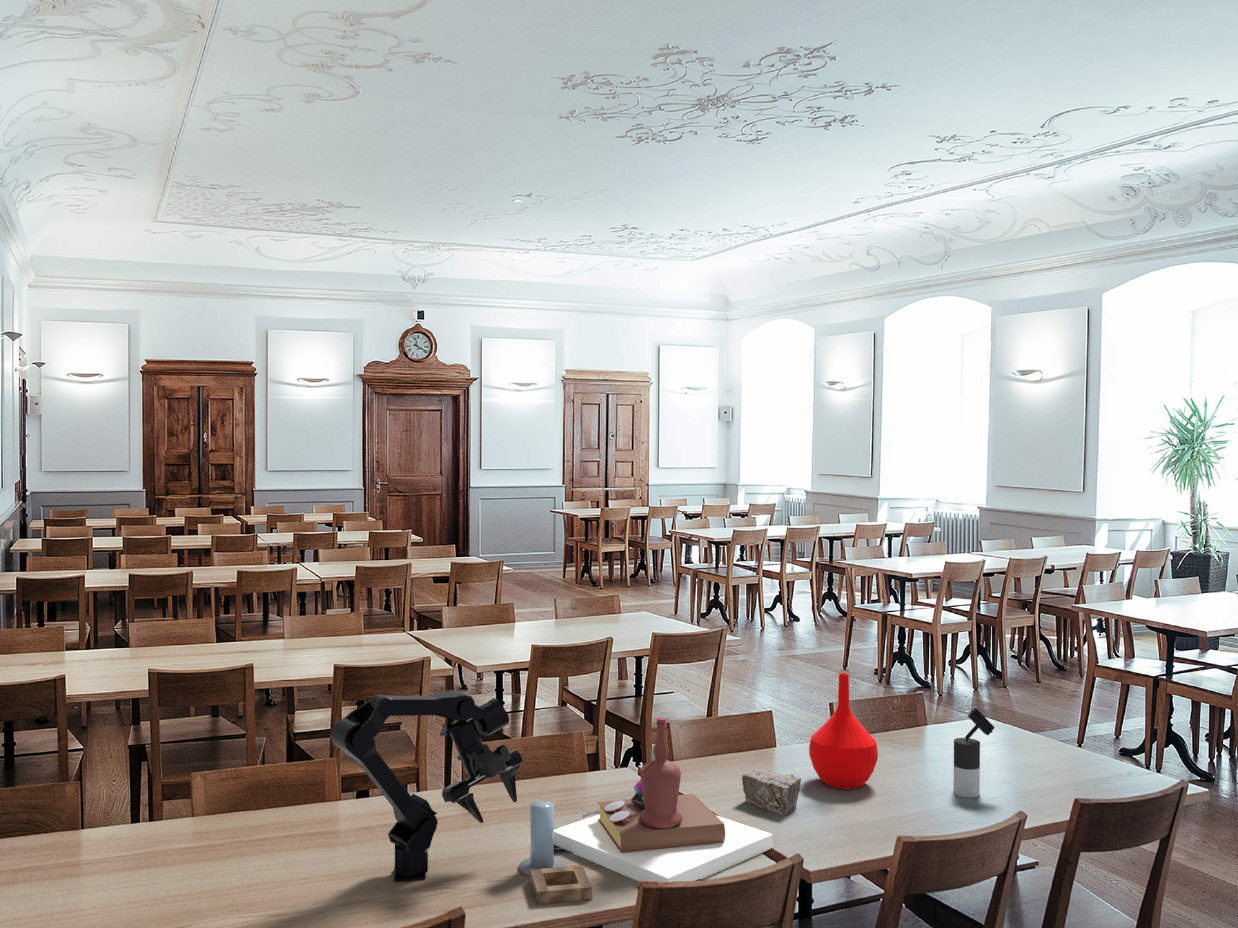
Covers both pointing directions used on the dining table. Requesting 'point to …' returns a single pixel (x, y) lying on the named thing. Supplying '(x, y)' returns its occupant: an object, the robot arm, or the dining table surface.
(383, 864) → the dining table surface
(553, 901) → the pocket block
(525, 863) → the coaster
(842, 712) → the vase
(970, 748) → the track light
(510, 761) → the robot arm
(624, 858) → the decorative still life
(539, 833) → the pale blue cylinder
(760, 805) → the stone block
